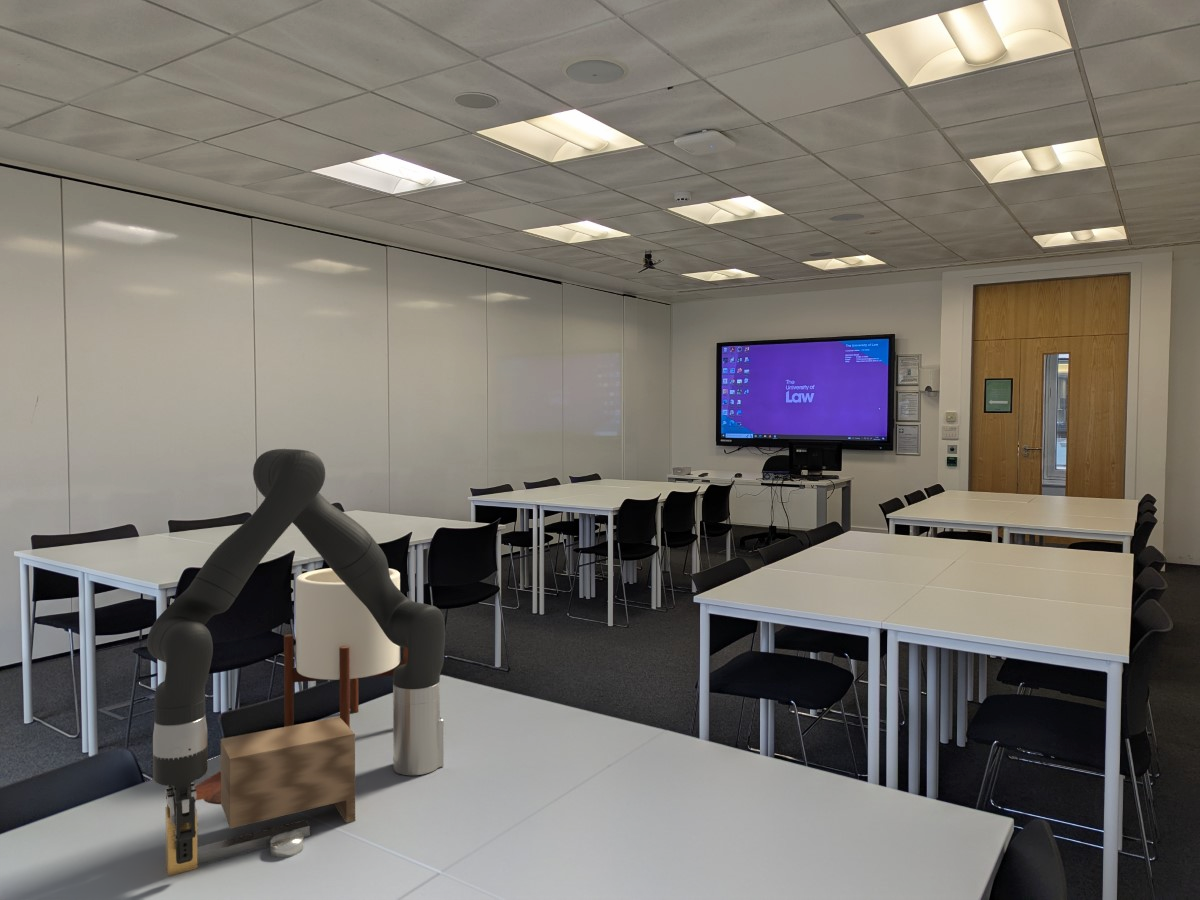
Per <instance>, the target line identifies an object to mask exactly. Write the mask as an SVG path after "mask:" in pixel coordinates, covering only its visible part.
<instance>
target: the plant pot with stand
mask: <svg viewBox="0 0 1200 900" xmlns="http://www.w3.org/2000/svg"><path fill="white" fill-rule="evenodd" d="M388 568H389V567H388ZM389 575H390V578H391V580H392V582H393V583H394V585H395V586H396V587H397V588H398V589H399V590H400V591H401V572H399V571H398V570H397V569H394V568H389ZM295 609H296V610H295V613H296V614H295V617H296V618H295V619H296V620H295V621H296V623H295V625H296V626H295V629H296V631H295V632H296V634H295V635H296V636H295V638H296V641H295V644H296V645H295V648H296V655H295V656H296V662H295V663H296V667H294V634H292V633H288V634H284V635H283V662H284V663H283V674H284V675H283V676H284V677H283V679H284V680H283V685H284V686H283V688H284V689H283V691H284V694H283V695H284V696H283V697H284V699H283V702H284V704H283V705H284V706H283V707H284V727H287V726H292V725H295V723H294V722H295V720H294V719H295V717H294V713H295V711H294V710H295V709H294V708H295V707H294V706H295V704H294V703H295V702H294V698H295V697H294V690H295V689H294V683H302V682H304V683H305V682H319V681H320V682H321V681H335V680H336V681H337V680H339V717H340V718H341V719H342V720H343V721H344V722H345V723H346V724H347V726H348V727H349V728H350V729H351V726H350V724H351V723H350V722H351V720H350V719H351V718H350V717H351V716H350V714H355V713H359V679H364V678H365V679H366V678H367V679H368V678H377V677H378V678H380V677H382V678H383V677H393V673H394V670H395V669H396V668H397V667H399V666H401V665H404V664H406V663H407V655H408V648H404V647H403V660H401V647H400V646H398V645H396V644H394V643H393V642H391V641H390V640H389V639H388V637H387V636H386V635H385V633H384V632H383V630H382V629H381V627H380V626H379V624H378V623H377V621H376V620H375V618H374V617H373V615H372V614H371V612H370V611H369V610H368V608H367V607H366V606H365V605H364V604H363V603H362V602H361V601H360V600H359V599H358V598H357V596H356V595H355V594H354V593H353V592H352V591H351V590H350V589H349V587H348V586H347V585H346V584H345V583H344V582H343V581H342V580H341V579H340V578H339V577H338V576H337V575H336V573H335V572H334V571H333V570H332V569H331V568H330V567H329V568H321V569H316V570H310V571H307V572H306V571H305V572H304V573H301V574H299V575H298V576H297V577H296V578H295Z"/></svg>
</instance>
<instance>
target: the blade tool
mask: <svg viewBox="0 0 1200 900" xmlns="http://www.w3.org/2000/svg"><path fill="white" fill-rule="evenodd" d="M164 811H165V814H164V815H165V867H166V871H167V872H166V873H167V876H168V877H171V876H173V875H177V874H180V873H184V872H188V871H191V870H196V869H198V867H199V866H201V865H206V864H210V863H213V862H216V861H220V860H225V859H228V858H232V857H236V856H240V855H243V854H248V853H252V852H255V851H259V850H262V849H266V848H271V839H272V838H273V837H275V836H276V835H278V834H281V833H284V832H289V831H296V832H300V833H302V834H303V836H304V838H308V837H309V838H310V835H311V834H310V825H309V823H308V821H307V819H303V820H299V821H295V822H292V823H287V824H283V825H279V826H275V827H272V828H268V829H264V830H259V831H256V832H252V833H248V834H244V835H239V836H236V837H232V838H227V839H223V840H220V841H215V842H212V843H207V844H205V845H204V844H203V845H200V846H198V809H197V808H196V818H195V831H196V834H195V837H193V859H192V860H191V861H189V862H185V863H182V864H177V862H176V840H175V838H174V835H175V827H174V826H173V825H171V822H170V808H169V807H167V806H166V807H165V810H164ZM174 815H175V814H174ZM175 817H176V815H175ZM186 829H189V823H186V824H182V825H181V826H180V831H182V830H186Z"/></svg>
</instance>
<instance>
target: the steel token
mask: <svg viewBox="0 0 1200 900" xmlns="http://www.w3.org/2000/svg"><path fill="white" fill-rule="evenodd" d="M304 840H305V839H304V836H303V834H302V833H300V832H296V831H289V832H284V833H281V834H278V835H276V836H275V837H273V838H272V839H271V847H270V855H271V857H272V858H277V859H286V858H287V859H288V858H291V857H294V856H297V855H298V854H300V853H301V852H302V851H303V850H304V848H305V847H304V846H305V845H304V843H305V842H304Z"/></svg>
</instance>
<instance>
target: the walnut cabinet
mask: <svg viewBox="0 0 1200 900" xmlns="http://www.w3.org/2000/svg"><path fill="white" fill-rule="evenodd" d="M220 771H221V804H220V805H221V808H222V811H223V813H224V815H225V818H226V821H227V824H228V826H229V829H230V830H231V829H234V828H238V827H243V826H246V825H250V824H255V823H258V822H263V821H267V820H270V819H271V820H272V819H275V818H279V817H282V816H287V815H292V814H296V813H299V812H305V811H308V810H311V809H317V808H319V807H320V808H321V807H324V806H328V805H332V804H333V805H334V807H335V808H336V809H337V811H338V813H339V814H340V815H341V817H342V819H343V820H344V822H345V823H346V824H348V823H351V822H352V823H353V822H355V821H356V733H355V731H353V730H352V729H351V727H350V728H349V727H348V726H347V724H346V723H345V722H344V721H343V720H342V719H341V718H340V716H336V717H335V716H334V717H330V718H325V719H319V720H315V721H309V722H304V723H299V724H294V725H292V726H287V727H285V726H283V727H277V728H272V729H267V730H261V731H256V732H250V733H245V734H239V735H235V736H228V737H223V738H220Z"/></svg>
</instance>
